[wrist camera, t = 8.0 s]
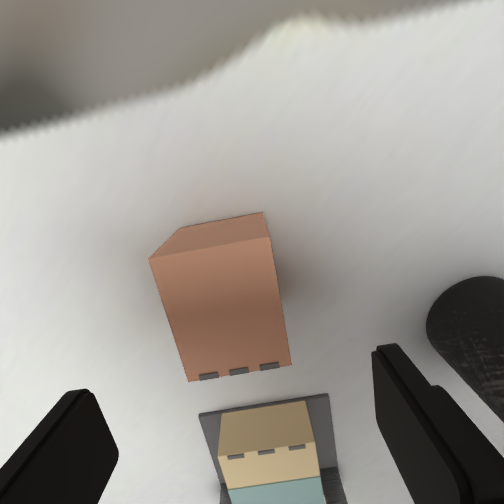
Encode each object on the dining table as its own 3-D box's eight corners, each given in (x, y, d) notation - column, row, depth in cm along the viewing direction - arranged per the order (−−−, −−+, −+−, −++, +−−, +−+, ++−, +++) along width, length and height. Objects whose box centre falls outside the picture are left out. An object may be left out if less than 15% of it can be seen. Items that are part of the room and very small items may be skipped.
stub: (279, 306, 20) (292, 366, 14) (205, 319, 20) (188, 383, 14) (262, 212, 18) (269, 237, 12) (180, 227, 18) (147, 259, 12)
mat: (340, 489, 26) (341, 492, 26) (228, 505, 27) (228, 508, 27) (328, 393, 23) (328, 396, 22) (199, 414, 23) (198, 417, 23)
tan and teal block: (319, 488, 26) (330, 538, 22) (246, 499, 26) (246, 549, 23) (305, 400, 22) (315, 443, 19) (221, 413, 23) (217, 458, 19)
